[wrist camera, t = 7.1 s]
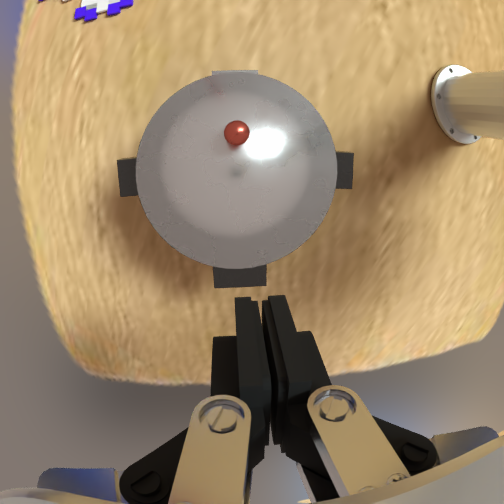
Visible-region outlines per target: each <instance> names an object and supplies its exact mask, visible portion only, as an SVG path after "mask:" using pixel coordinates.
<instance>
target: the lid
mask: <svg viewBox="0 0 504 504" xmlns="http://www.w3.org/2000/svg"><path fill="white" fill-rule="evenodd" d="M336 181H337V158H336V152H335V147H334V143H333V140H332V137H331V134H330V132H329V130H328V128H327V126H326V124H325V122H324V120H323V119H322V117H321V116H320V114H319V113H318V111H317V110H316V109H315V108H314V107H313V105H312V104H311V103H310V102H309V101H308V100H307V99H306V98H304V97H303V96H302V95H301V94H300V93H298V92H297V91H296V90H294V89H293V88H291V87H290V86H288V85H286V84H284V83H282V82H280V81H278V80H275V79H272V78H269V77H266V76H263V75H258V74H253V73H242V72H232V73H221V74H217V75H212V76H208V77H205V78H202V79H200V80H197V81H195V82H193V83H191V84H189V85H187V86H185V87H183V88H182V89H180V90H179V91H178V92H176V93H175V94H174V95H172V96H171V97H170V98H169V99H168V100H167V101H166V102H165V103H164V104H163V105H162V106H161V107H160V108H159V109H158V111H157V112H156V113H155V114H154V116H153V117H152V119H151V120H150V122H149V124H148V126H147V127H146V129H145V132H144V134H143V136H142V139H141V141H140V145H139V149H138V153H137V160H136V183H137V190H138V195H139V198H140V201H141V205H142V207H143V209H144V211H145V214H146V216H147V218H148V219H149V221H150V223H151V224H152V226H153V227H154V229H155V230H156V231H157V232H158V233H159V235H160V236H161V237H162V238H163V239H164V240H165V241H166V242H167V243H168V244H169V245H170V246H172V247H173V248H174V249H176V250H177V251H179V252H180V253H181V254H183V255H185V256H187V257H189V258H190V259H193V260H195V261H198V262H200V263H203V264H206V265H210V266H213V276H214V288H231V287H253V286H266V265H267V264H268V263H271V262H274V261H276V260H278V259H280V258H282V257H284V256H286V255H288V254H290V253H291V252H293V251H294V250H296V249H297V248H298V247H300V246H301V245H302V244H303V243H304V242H305V241H307V240H308V239H309V237H310V236H311V235H312V234H313V233H314V232H315V231H316V229H317V228H318V227H319V225H320V224H321V222H322V221H323V219H324V217H325V216H326V214H327V212H328V210H329V207H330V205H331V202H332V199H333V196H334V192H335V188H336Z"/></svg>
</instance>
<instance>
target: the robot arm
mask: <svg viewBox="0 0 504 504" xmlns="http://www.w3.org/2000/svg"><path fill="white" fill-rule="evenodd" d="M431 100H432V107H433V111H434V114H435V117H436V119H437V122H438V123H439V125H440V127H441V128H442V130H443V131H444V132H445V134H446V135H447V136H448V137H449V138H451V139H452V140H454V141H456V142H459V143H463V144H471V143H474V142H476V141H477V140H479V139H480V138H481V137H488V138H494V139H500V140H504V71H488V72H476V73H472V72H471V71H469V70H468V69H466V68H465V67H463V66H459V65H449V66H445V67H443V68H441V69H440V70H439V71H438V72H437V74H436V75H435V77H434V80H433V83H432V89H431ZM235 316H236V335H237V336H219V337H213V349H212V372H211V397H208V398H206V399H204V400H203V401H201V402H200V403H199V404H198V405H197V406H196V407H195V409H194V412H193V414H192V417H191V421H190V424H189V427H188V428H187V429H185V430H184V431H182V432H181V433H179V434H178V435H177V436H175V437H174V438H172V439H171V440H169V441H168V442H166V443H165V444H163V445H162V446H160V447H159V448H157V449H156V450H154V451H153V452H151V453H150V454H148V455H146V456H145V457H143V458H142V459H140V460H139V461H137V462H135V463H134V464H132V465H131V466H129V467H128V468H127V469H126V470H119V471H116V470H115V469H114V468H93V469H92V468H91V469H89V468H86V469H85V468H49V469H48V470H46V471H44V472H43V473H42V474H41V475H40V477H39V480H38V484H37V488H14V489H9V490H4V491H1V492H0V504H250V494H251V484H252V474H253V468H254V467H255V466H256V465H257V464H258V463H259V462H260V461H262V459H264V448H265V445H269V430H270V424H271V431H272V437H273V442H274V445H277V444H280V447H281V453H286V456H287V457H289V458H291V459H292V460H294V461H296V466H297V469H298V472H299V474H300V477H301V479H302V482H303V484H304V487H305V489H306V491H307V494H308V496H309V499H310V501H311V503H310V504H504V435H503V436H500V437H499V435H498V434H497V432H496V431H494V430H493V429H492V428H489V427H487V426H485V427H476V428H472V429H467V430H462V431H457V432H451V433H446V434H439V435H434V436H433V437H432V438H431V439H428V438H426V437H424V436H422V435H420V434H417V433H415V432H412V431H409V430H406V429H404V428H401V427H399V426H396V425H394V424H391V423H389V422H386V421H384V420H381V419H379V418H377V417H374V416H372V415H371V414H370V412H369V411H368V409H367V408H366V406H365V405H364V403H363V402H362V400H361V399H360V397H359V396H358V395H357V394H356V393H355V392H354V391H352V390H350V389H349V388H346V387H343V386H336V385H332V384H331V382H330V379H329V376H328V374H327V371H326V368H325V366H324V363H323V360H322V358H321V355H320V353H319V350H318V347H317V345H316V342H315V340H314V337H313V334H312V333H311V331H302V332H297V331H296V328H295V325H294V321H293V318H292V315H291V312H290V309H289V306H288V303H287V300H286V297H285V295H276V296H268V300H263V301H262V325H261V319H260V313H259V307H258V301H251V297H237V298H235Z"/></svg>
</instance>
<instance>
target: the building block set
mask: <svg viewBox="0 0 504 504" xmlns="http://www.w3.org/2000/svg"><path fill="white" fill-rule="evenodd" d="M38 1H43V0H38ZM63 1H64V2H66V1H68V0H63ZM128 6H133V0H82V3H81V7H80V8H77V9H76V11H75V18H74V19H76V20H77V19H80V18H83V17H85V20H84V21H90V20H94V19H97V14H98V13H102V12H106V11H107V15H108V16H110V15H114V14H118V13H120V9H121V8H123V7H128Z"/></svg>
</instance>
